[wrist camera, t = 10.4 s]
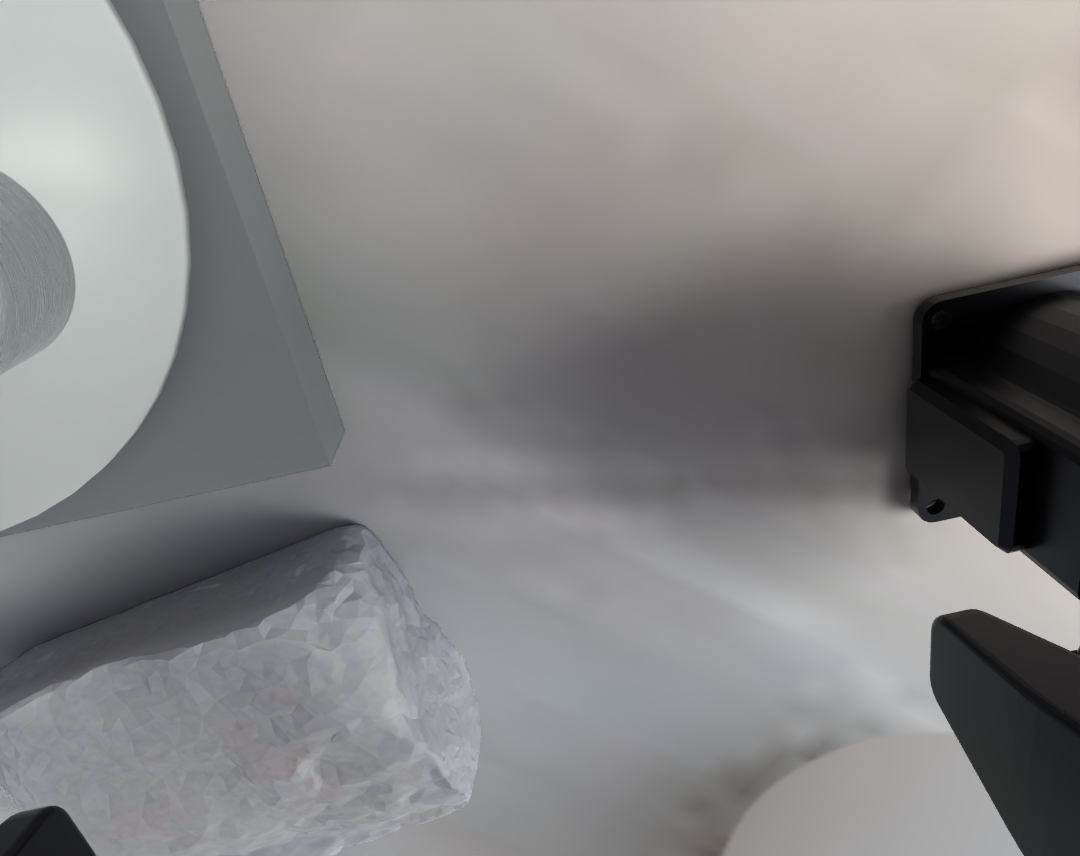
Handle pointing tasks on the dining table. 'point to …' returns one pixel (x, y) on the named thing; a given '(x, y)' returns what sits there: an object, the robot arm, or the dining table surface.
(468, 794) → the stone block
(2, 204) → the cylinder
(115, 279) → the scale
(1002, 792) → the robot arm
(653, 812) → the dining table surface
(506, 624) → the dining table surface
